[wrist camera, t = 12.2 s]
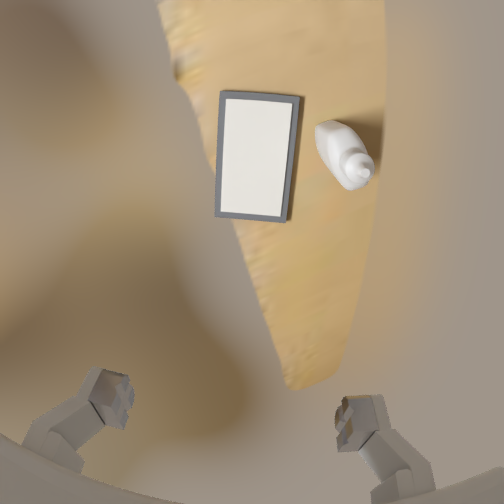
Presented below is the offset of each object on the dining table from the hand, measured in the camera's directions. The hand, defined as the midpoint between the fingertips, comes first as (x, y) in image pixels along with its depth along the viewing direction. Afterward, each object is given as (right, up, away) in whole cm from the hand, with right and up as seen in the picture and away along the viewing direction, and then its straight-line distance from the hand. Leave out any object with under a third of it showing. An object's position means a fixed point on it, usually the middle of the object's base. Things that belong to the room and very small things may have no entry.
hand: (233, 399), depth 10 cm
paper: (+1, +15, +21) cm, 26 cm away
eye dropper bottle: (+9, +17, +20) cm, 28 cm away
